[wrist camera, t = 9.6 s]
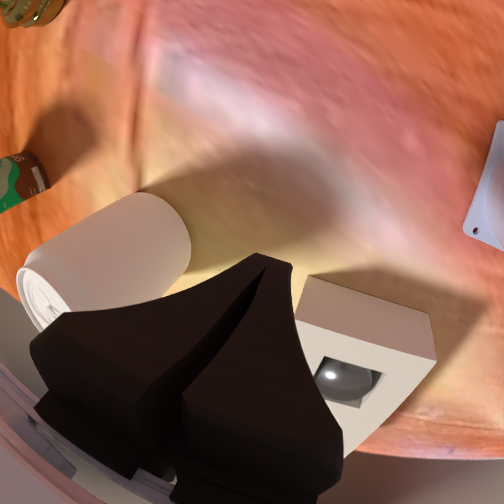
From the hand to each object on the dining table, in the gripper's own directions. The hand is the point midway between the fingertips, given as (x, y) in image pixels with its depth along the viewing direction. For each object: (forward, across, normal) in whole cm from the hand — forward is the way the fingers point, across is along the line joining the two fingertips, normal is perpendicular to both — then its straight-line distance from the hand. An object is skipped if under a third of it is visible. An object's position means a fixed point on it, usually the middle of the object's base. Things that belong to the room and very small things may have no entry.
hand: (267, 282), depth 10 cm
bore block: (+10, -6, +15) cm, 19 cm away
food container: (+11, +32, +4) cm, 34 cm away
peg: (+10, -6, +10) cm, 16 cm away
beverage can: (+11, +12, +7) cm, 17 cm away
